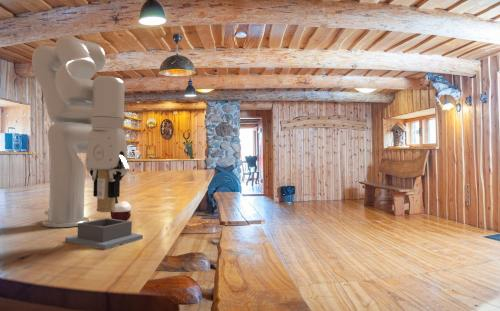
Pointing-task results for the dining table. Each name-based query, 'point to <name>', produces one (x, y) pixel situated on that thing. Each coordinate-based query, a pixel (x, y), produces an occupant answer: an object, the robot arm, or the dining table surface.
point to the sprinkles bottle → (104, 192)
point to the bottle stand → (104, 233)
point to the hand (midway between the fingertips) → (106, 196)
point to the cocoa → (121, 210)
